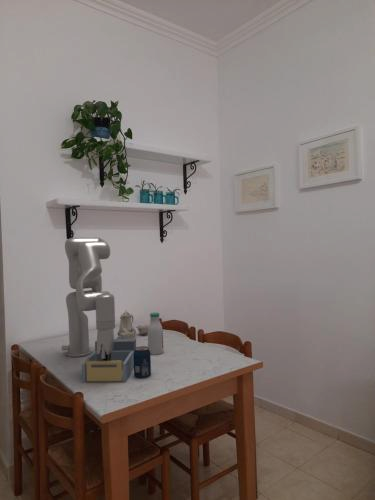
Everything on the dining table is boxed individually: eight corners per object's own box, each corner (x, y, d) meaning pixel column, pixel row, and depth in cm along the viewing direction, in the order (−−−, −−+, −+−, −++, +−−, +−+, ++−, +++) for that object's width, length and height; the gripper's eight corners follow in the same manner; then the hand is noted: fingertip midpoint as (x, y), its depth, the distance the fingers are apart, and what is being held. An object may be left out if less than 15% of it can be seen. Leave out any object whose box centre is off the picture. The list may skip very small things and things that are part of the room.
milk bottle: (161, 355, 175) (159, 314, 174) (146, 354, 176) (144, 314, 176) (165, 350, 182) (164, 311, 182) (150, 350, 184) (149, 311, 183)
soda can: (141, 373, 151) (140, 345, 151) (154, 375, 147) (153, 347, 147) (130, 378, 145) (129, 349, 145) (144, 381, 141) (143, 351, 141)
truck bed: (82, 384, 140) (81, 354, 140) (98, 365, 162) (98, 339, 162) (126, 384, 139) (125, 353, 139) (136, 364, 162) (135, 338, 161)
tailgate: (86, 383, 140) (86, 361, 140) (87, 382, 141) (87, 360, 141) (121, 383, 139) (121, 361, 139) (122, 382, 141) (122, 360, 141)
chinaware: (132, 348, 193) (134, 318, 192) (105, 343, 198) (107, 314, 197) (153, 335, 220) (154, 308, 219) (128, 331, 225) (130, 305, 224)
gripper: (101, 320, 152) (103, 363, 152) (90, 329, 137) (92, 376, 137) (119, 320, 151) (120, 363, 152) (110, 328, 136) (111, 376, 137)
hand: (107, 369), depth 144 cm, fingers closed
